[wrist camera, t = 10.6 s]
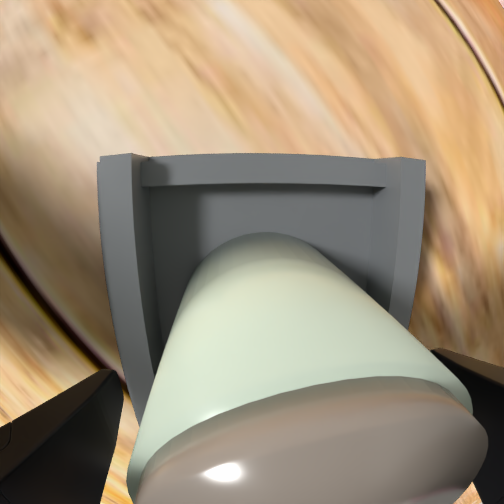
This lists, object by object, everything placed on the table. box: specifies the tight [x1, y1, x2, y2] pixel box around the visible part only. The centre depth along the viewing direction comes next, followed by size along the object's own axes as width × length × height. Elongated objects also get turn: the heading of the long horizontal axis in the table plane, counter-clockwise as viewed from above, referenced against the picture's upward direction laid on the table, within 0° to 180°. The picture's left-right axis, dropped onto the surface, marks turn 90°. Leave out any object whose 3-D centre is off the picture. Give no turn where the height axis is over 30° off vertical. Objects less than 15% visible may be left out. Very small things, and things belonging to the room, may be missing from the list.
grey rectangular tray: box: [97, 153, 426, 427], centre depth 10 cm, size 12×18×6 cm, turn 0°
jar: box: [126, 232, 488, 504], centre depth 7 cm, size 6×6×9 cm
